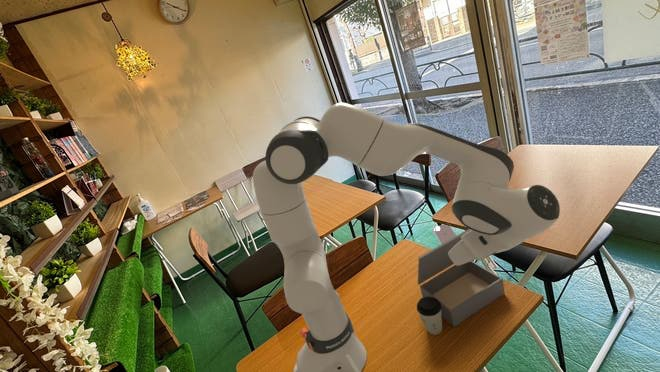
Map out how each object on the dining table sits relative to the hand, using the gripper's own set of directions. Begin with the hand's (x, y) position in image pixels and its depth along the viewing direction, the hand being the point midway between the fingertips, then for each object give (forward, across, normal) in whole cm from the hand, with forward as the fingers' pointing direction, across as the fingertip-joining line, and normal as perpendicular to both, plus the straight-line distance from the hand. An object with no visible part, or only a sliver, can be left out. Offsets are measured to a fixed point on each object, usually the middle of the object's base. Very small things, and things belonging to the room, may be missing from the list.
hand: (472, 248), depth 83 cm
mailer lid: (+17, 0, -2) cm, 17 cm away
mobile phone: (+44, -20, -10) cm, 49 cm away
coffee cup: (+20, +14, +13) cm, 28 cm away
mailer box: (+22, 0, +11) cm, 25 cm away
